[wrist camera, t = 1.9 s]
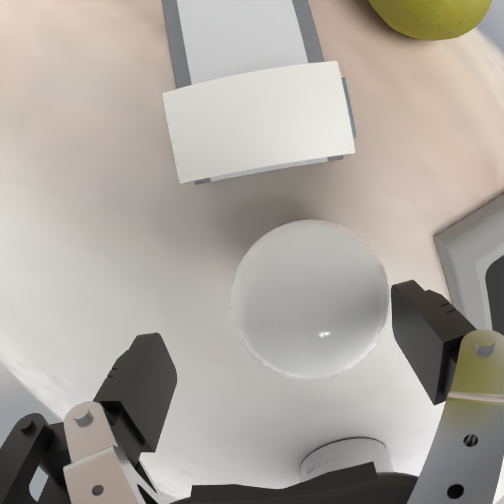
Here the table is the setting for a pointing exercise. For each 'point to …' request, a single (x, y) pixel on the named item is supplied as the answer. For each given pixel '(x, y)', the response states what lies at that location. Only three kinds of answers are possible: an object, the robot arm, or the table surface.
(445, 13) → the apple
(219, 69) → the rail board
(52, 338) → the table surface
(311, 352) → the lightbulb
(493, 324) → the grey flat block
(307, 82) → the block
